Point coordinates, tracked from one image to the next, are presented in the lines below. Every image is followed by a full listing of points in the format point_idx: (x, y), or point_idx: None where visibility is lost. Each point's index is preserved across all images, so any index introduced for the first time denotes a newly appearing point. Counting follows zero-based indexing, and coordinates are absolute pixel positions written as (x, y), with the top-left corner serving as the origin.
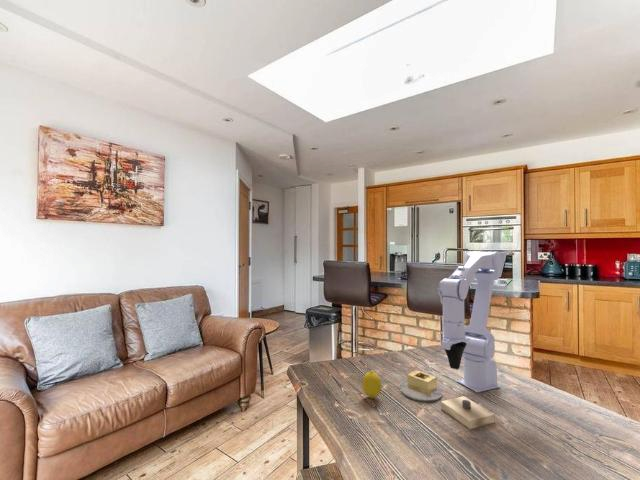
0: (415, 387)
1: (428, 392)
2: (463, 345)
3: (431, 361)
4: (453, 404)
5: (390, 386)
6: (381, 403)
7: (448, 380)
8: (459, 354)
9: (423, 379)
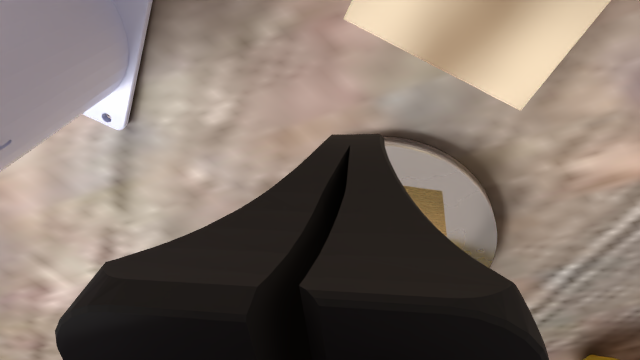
0: None
1: (440, 201)
2: (256, 322)
3: (41, 285)
4: (521, 31)
5: None
6: (621, 318)
7: (150, 168)
8: (444, 236)
9: None
